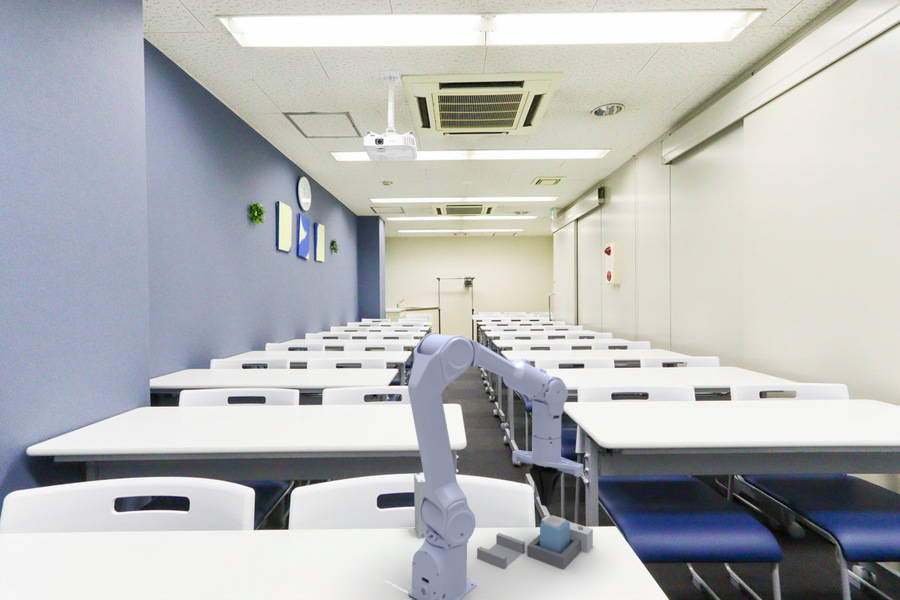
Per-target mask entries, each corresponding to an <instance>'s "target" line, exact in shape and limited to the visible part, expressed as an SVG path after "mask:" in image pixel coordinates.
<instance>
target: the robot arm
mask: <svg viewBox="0 0 900 600" xmlns="http://www.w3.org/2000/svg"><path fill="white" fill-rule="evenodd" d="M413 355H414V360H413V365H412V368H411V371H410V375H409V380H408V384H407V391H408V395H409V401H410V406H411V411H412V412H411V413H412V417H413V424H414V428H415V433H416V439H417V445H418V450H419V456H420V460H421V466H422V471H423V472H422V473H424V478H425V483H426V484H425V485H424V486H423V487H422V488H421V490H420V492H421V503H420V507H419V514H420V517H421V519H422V521H423V522H424V523H426V524H425V531H426V537H425V538H424V541H423V543H422V545H421V546H420V548H419V549H418V550H417V551H416V552H415V553H414V555H413V557H412V562H411V563H412V567H411V574H412V575H411V577H412V578H411V589H410V590H408V593H407V594H408V596H410V597H412V598H414V599H415V600H462V598H464V597H465V596H466V595H467V594H469V593H470V592H472V591H473V590H474V589H475V588H476V587H477V586H478V583H476V582H475V581H473V580H471V579H468V577H467V576H468V574H467V573H468V570H467V569H468V543H469V540H470V538H471V537H472V536H473V534H474V531H475V527H476V517H475V514H474V512H473V511H472V509H471V508H470V507H469V504H468V500H467V496H466V495H465V493H464V491H463V489H462V488H461V487H460V485H459V483H458V481H457V473H456V470H455V466H454V465H455V464H454V460H453V454H452V453H453V452H452V448H451V441H450V436H449V431H448V424H447V418H446V414H445V408H444V404H443V403H444V402H443V397H442V394H443V393H444V390H445V389H446V388H447V387H448V386H449V385H451V383H452V382H453V381H455V380H456V379H457V378H458V377H460V376H461V375H462V374H464V372H466V371H467V370H468V369H469V368H470V367H471V368H475V367H479V368H482V369H484V370H486V371H488V372H491V373H493V374H495V375H497V376H500V377H502V380H503V383H504V385H505V386H506V387H507V388H509V389H511V390H513V391H516V392H518V393H520V394H522V395H524V396H526V397H527V398H528V400H529V401H531V402H532V407H531V408H532V411H531V414H532V418H531V421H532V422H531V423H532V425H531V426H532V427H531V432H532V433H531V451H527V450H521V449H516V450H513V451H512V455H511V456H512V459H511V460H512V462H515V463H516V462H521V463H525V464H530V465H532V466H531V468H530V469H529V474H530V476H531V478H532V480H533V482H534V484H535V487H536V490H537V493H538V498H539V503H540V505H541V506H543V507H547V508H548V507H549V506H550V505H552V501H553V497H554V493H555V490H556V487H557V485H558V482H559V480H560V478H561V476H562V475H563V473H567V474H570V475H573V476H574V477H576V478H580V477H582V476H583V475H584V464H583V463H580V462H579V463H578V462H576V461H573V460H570V459H568V458H565V457H562V415H563V413H564V412H565V411H564V409H565V403H566V401H567V400H568V396H569V390H568V389H567V386H566V384H565V382H564V381H563V379H562V378H561V377H558V376H551V375H549V374H548V373H547V372H548V371H547V370H545V369H543V368H539V369H538V368H537V367H535V366H533V365H531V361H530V360H529V359H526V358H521V359H518V358H516V359H514V360H512V361H511V360H508V359H507V358H505V357H503V356H502V355H500V354H498V353H496V352H495V351H494V350H492V349H490V348H488V347H487V346H485V345H483V344H481V343H480V342H478V341H477V340H473V339H471V338H470V339H469V338H467V337H466V336H463V335H461V334H460V335H459V334H456V335H450V334H441V333H438V332H431V333H428V334H426V335H424V336H423V337H422V338H421V340H420V341H419V342H418V343H417V345H416V346H415V347H414V349H413Z"/></svg>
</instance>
